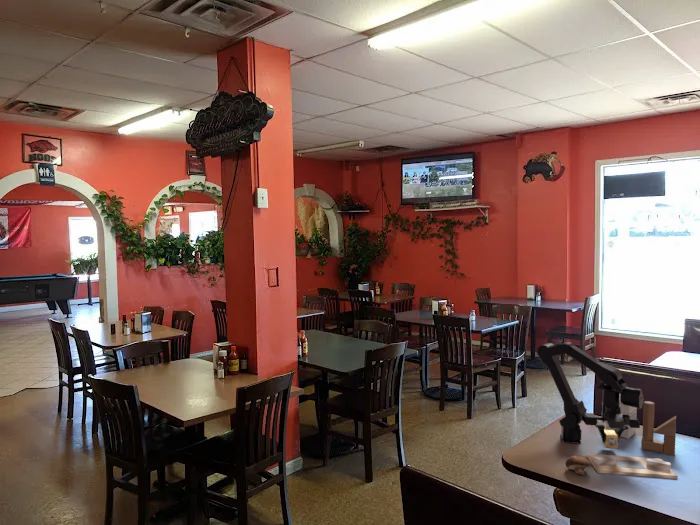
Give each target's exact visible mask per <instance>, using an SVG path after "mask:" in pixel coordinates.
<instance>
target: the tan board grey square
mask: <svg viewBox="0 0 700 525" xmlns="http://www.w3.org/2000/svg"><path fill="white" fill-rule="evenodd" d="M586 456H587V459H588V460H589V461H590V463H591V466H593V468H594V469H595V471H596V473H597V474H599V473H600V474H609V475H610V474H612V475H622V476H623V475H625V476H635V477H636V476H637V477H651V478H664V479H674V480H675V479H676V480H677V479H678V474H676V472H675V471H674V470H672V467H671V465H672V464H671V462H669V461H664V460H663V459H662V458H656V457H654V458H653V457H641V456H629V455H628V456H627V455H625V456H624V455H612V454H611V455H610V454H601V453H597V454H596V453H586Z"/></svg>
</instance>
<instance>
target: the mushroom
mask: <svg viewBox="0 0 700 525" xmlns="http://www.w3.org/2000/svg"><path fill="white" fill-rule="evenodd" d="M565 466H566V468H567V469H569V470H573V471H574V472H575V473H576V474H578V475H582V476H585V475H586V473H585V471H586V469H589V468H591V466H592V463H591V461H590V460H589V459H588V458H586V457H584V456H580V455H572V456H570V457H568V458H567V459H566V461H565Z"/></svg>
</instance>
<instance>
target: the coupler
mask: <svg viewBox="0 0 700 525" xmlns="http://www.w3.org/2000/svg"><path fill="white" fill-rule="evenodd" d="M604 434H605V442H603V441H602V440H601V443H602V445H604V447H605V448H606V449H618V447H619V445H618V444H619V443H618V442H619V440H618V435H617V434H616V432H615V431H614V430H606V429H604Z"/></svg>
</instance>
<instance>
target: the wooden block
mask: <svg viewBox="0 0 700 525" xmlns="http://www.w3.org/2000/svg"><path fill="white" fill-rule="evenodd" d="M642 415H643V417H642V438H641V442H640V445H641V446H640V449H642V450H645V451H650V452H655V453H660V454H664V455H667V456H668V455H669V456H673V457H674V456H675V454H676V431H677V430H676V429H677V416H676V415H675V416H672V417H671V418H670V419H667V421H665V422H664V423H662V424H660V425H659V426H657V427H656V428H655V402H653V401H649V400H647V401H646V400H645V401H643V414H642ZM654 434H657V435H661V436H662V435H663V442H662V441H660V440H658V439H655V438H654Z"/></svg>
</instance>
